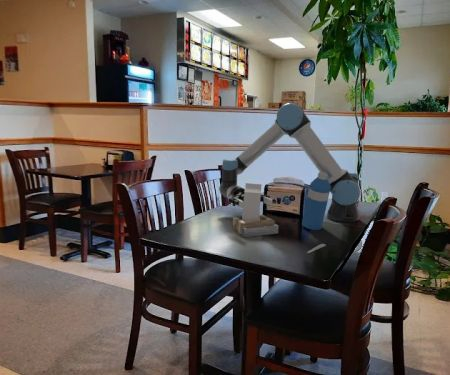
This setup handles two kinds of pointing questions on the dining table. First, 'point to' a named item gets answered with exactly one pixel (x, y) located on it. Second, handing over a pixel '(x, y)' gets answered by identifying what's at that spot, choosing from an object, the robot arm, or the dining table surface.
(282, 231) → the dining table surface
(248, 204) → the light grey rectangular block
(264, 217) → the cradle
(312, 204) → the water bottle
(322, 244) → the butter knife
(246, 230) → the stop rail
